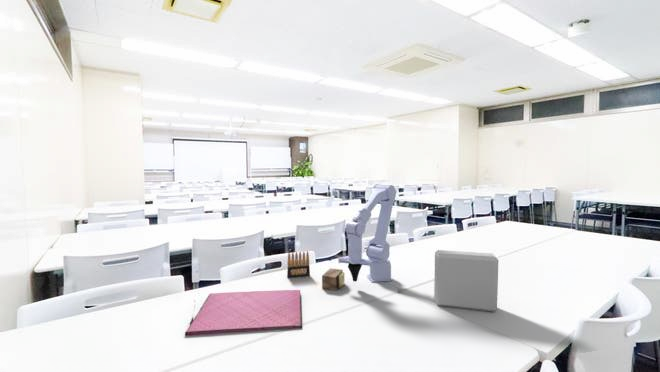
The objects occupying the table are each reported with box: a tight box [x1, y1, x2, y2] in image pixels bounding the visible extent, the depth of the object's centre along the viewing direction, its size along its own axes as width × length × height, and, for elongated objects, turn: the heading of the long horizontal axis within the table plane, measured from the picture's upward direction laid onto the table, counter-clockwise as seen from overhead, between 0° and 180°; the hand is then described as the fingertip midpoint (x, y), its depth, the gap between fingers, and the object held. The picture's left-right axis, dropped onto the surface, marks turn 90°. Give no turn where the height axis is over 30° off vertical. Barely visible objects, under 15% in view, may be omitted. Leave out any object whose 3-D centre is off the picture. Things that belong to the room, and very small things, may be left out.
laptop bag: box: [184, 289, 303, 337], centre depth 109 cm, size 40×4×27 cm
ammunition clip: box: [286, 250, 311, 279], centre depth 144 cm, size 11×2×12 cm, turn 103°
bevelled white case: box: [433, 249, 499, 312], centre depth 113 cm, size 21×8×20 cm, turn 74°
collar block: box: [321, 268, 343, 291], centre depth 133 cm, size 6×10×6 cm, turn 160°
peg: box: [338, 272, 345, 289], centre depth 133 cm, size 8×5×5 cm, turn 70°
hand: (355, 280), depth 130 cm, fingers closed
